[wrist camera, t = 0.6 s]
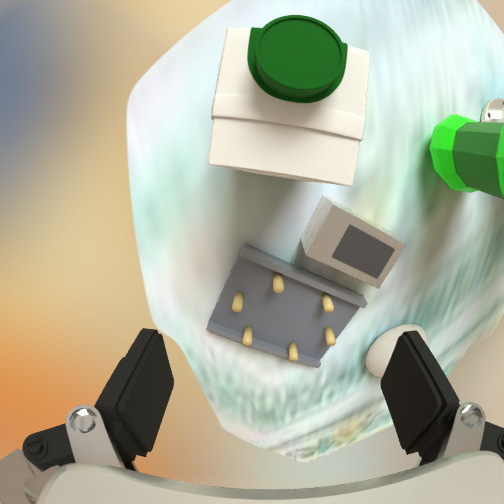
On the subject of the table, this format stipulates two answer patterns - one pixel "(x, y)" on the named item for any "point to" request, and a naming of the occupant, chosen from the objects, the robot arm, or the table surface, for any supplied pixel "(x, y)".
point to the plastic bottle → (469, 155)
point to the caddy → (282, 308)
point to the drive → (350, 243)
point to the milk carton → (290, 102)
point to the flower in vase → (387, 348)
